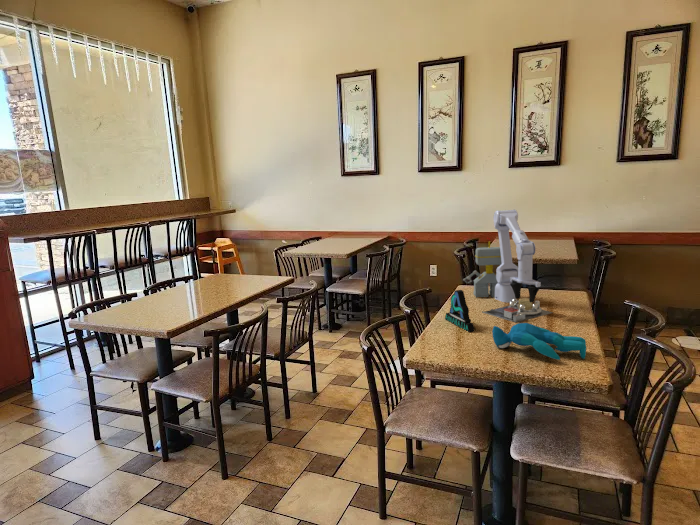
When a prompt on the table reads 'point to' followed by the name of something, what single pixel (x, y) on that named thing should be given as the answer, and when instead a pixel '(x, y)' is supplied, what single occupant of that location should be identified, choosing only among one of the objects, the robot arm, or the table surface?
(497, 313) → the base plate
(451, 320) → the decorative sign
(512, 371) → the table surface
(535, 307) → the pinned metal disc
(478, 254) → the toy
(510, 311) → the red-ended rectangular metal block
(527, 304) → the link block
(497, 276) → the robot arm
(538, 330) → the toy
